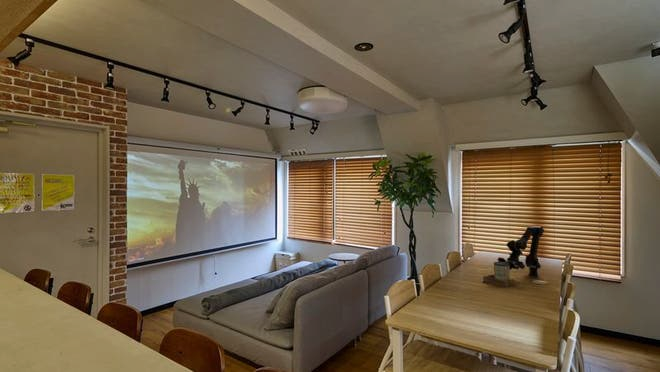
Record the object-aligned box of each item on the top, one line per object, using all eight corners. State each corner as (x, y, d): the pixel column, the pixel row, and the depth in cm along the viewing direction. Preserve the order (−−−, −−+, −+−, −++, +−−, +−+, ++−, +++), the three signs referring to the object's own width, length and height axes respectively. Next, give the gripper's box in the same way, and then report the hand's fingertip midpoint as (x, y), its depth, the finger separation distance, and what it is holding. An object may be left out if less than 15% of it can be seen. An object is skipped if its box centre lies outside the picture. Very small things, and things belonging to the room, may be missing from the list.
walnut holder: (493, 279, 244) (493, 274, 244) (513, 284, 230) (513, 279, 230) (483, 281, 239) (483, 276, 239) (504, 287, 225) (503, 281, 225)
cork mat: (531, 280, 241) (531, 279, 241) (547, 282, 235) (547, 281, 236) (531, 283, 232) (531, 282, 232) (548, 285, 227) (548, 284, 227)
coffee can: (492, 280, 242) (491, 261, 243) (506, 280, 241) (505, 261, 241) (497, 284, 232) (496, 264, 232) (512, 284, 231) (511, 264, 231)
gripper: (532, 264, 238) (523, 281, 233) (508, 259, 255) (499, 275, 250) (525, 255, 235) (516, 272, 230) (501, 250, 251) (492, 266, 246)
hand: (506, 271), depth 239 cm, fingers closed, pressing on coffee can
